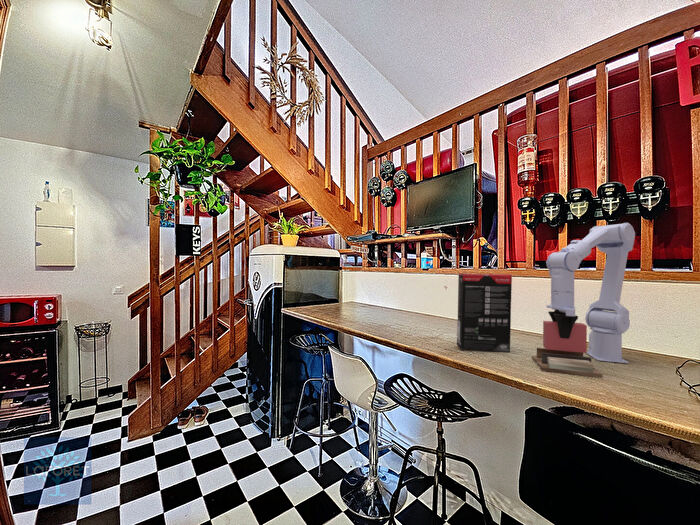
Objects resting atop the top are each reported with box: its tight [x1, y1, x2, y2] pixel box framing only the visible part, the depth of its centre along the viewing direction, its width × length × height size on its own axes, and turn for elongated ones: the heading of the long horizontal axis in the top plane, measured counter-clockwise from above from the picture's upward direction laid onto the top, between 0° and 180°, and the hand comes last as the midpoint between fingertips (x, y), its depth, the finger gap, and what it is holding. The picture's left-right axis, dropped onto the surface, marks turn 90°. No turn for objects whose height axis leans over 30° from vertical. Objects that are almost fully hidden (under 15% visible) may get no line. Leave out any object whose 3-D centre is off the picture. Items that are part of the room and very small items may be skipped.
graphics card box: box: [456, 273, 513, 353], centre depth 106 cm, size 17×7×27 cm, turn 84°
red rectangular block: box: [542, 320, 588, 354], centre depth 89 cm, size 4×10×8 cm, turn 70°
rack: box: [531, 347, 604, 379], centre depth 87 cm, size 12×14×4 cm
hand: (562, 336), depth 89 cm, fingers closed on red rectangular block, 3 cm apart
